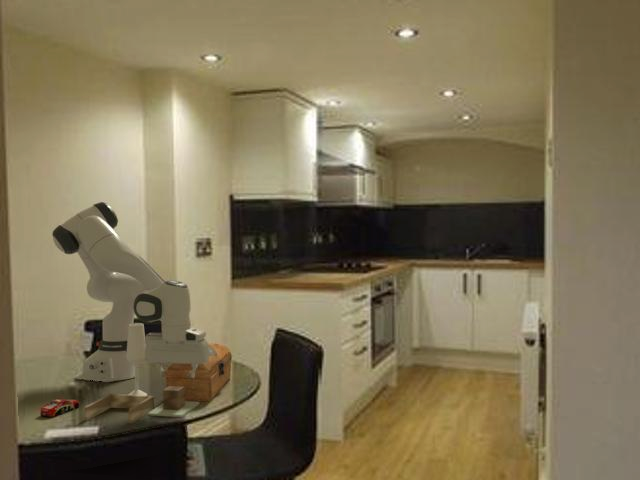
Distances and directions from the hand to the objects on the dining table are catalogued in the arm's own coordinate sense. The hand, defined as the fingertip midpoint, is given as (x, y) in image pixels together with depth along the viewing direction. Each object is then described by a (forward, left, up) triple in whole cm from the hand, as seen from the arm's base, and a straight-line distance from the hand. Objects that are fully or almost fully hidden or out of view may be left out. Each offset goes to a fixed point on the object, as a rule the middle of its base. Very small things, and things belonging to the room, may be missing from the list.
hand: (177, 377), depth 194 cm
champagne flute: (-20, +12, -10) cm, 25 cm away
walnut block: (-1, -1, -9) cm, 9 cm away
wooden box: (-1, +23, -10) cm, 26 cm away
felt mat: (-1, -1, -10) cm, 10 cm away
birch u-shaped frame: (-15, -9, -10) cm, 20 cm away
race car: (-34, -9, -10) cm, 37 cm away
